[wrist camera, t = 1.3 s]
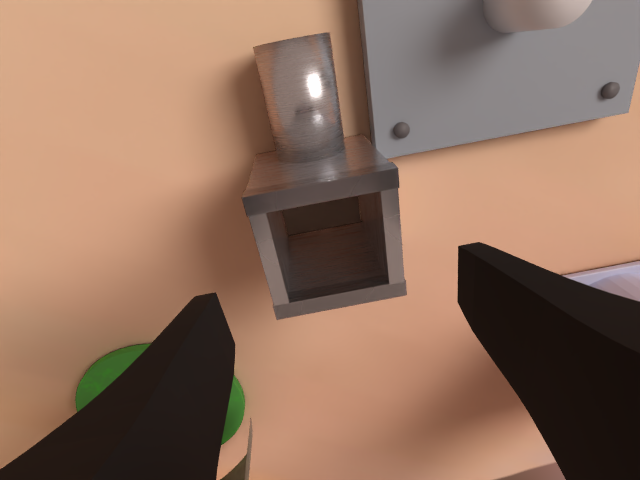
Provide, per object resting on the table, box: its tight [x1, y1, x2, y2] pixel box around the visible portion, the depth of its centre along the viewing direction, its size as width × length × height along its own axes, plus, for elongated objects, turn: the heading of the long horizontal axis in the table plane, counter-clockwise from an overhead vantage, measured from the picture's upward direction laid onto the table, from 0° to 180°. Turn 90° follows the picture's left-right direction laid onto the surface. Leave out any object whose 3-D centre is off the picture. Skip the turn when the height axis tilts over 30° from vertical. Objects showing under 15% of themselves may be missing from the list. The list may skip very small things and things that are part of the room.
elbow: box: [242, 33, 407, 320], centre depth 15 cm, size 10×5×6 cm, turn 10°
